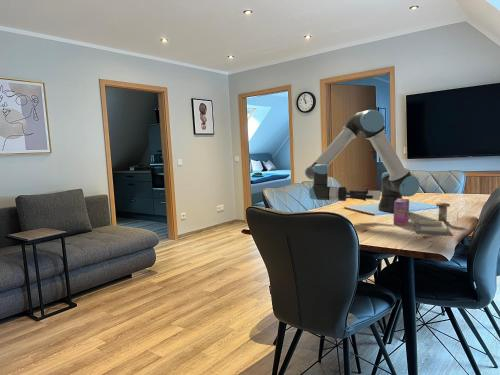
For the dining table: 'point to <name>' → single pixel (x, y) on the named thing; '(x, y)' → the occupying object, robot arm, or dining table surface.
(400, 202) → the box
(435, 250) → the dining table surface
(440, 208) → the bobbin
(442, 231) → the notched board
